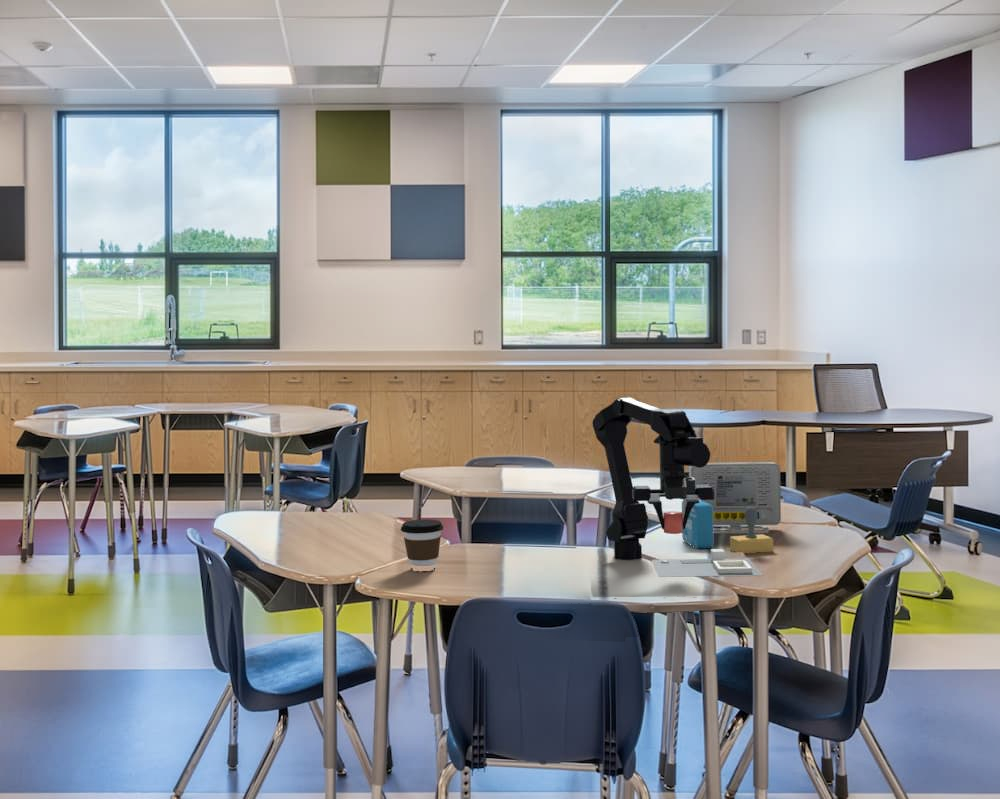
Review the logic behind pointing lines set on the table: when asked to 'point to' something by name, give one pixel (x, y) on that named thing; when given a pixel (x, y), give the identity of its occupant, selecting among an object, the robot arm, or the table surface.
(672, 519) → the cap
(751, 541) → the rubber stamp
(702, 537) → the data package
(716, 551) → the block
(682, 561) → the breaker panel
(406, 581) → the table surface
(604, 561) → the table surface
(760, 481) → the network device
